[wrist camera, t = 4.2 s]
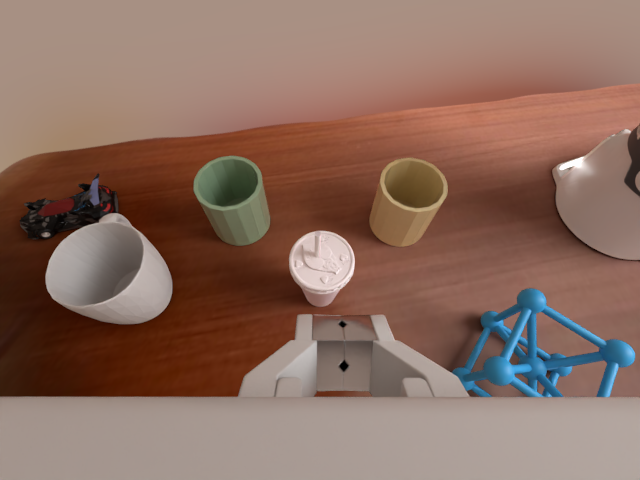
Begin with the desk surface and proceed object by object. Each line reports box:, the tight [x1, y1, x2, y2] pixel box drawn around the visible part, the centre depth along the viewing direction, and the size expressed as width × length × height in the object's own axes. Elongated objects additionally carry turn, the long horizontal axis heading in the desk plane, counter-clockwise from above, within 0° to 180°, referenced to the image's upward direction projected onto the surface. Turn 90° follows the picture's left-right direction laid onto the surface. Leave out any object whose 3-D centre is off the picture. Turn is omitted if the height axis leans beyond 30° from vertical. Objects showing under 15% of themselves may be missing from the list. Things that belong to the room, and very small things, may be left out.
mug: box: [45, 213, 172, 324], centre depth 36 cm, size 13×9×10 cm
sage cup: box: [194, 156, 271, 246], centre depth 41 cm, size 8×8×8 cm
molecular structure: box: [452, 288, 635, 397], centre depth 32 cm, size 10×10×10 cm
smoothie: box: [289, 231, 355, 307], centre depth 34 cm, size 6×6×14 cm
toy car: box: [20, 174, 118, 240], centre depth 43 cm, size 6×12×4 cm, turn 109°
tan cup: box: [369, 158, 448, 247], centre depth 41 cm, size 8×8×8 cm
